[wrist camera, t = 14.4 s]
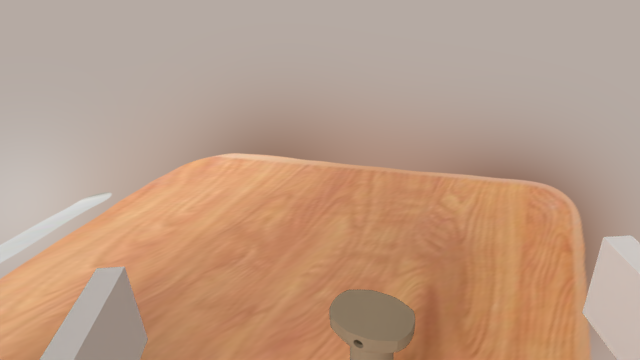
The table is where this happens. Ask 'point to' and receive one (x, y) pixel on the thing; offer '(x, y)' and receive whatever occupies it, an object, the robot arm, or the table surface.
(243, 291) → the table surface
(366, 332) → the handle
